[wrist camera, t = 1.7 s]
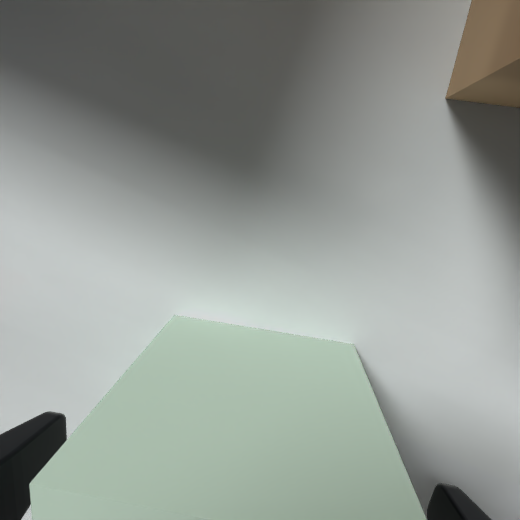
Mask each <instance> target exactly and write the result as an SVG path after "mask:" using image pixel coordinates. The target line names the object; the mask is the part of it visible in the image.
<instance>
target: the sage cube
mask: <svg viewBox="0 0 520 520" xmlns="http://www.w3.org/2000/svg"><path fill="white" fill-rule="evenodd" d="M29 487H30V499H31V512H32V520H427V519H426V517H425V514H424V512H423V510H422V507H421V505H420V502H419V500H418V498H417V495H416V493H415V490H414V488H413V486H412V483H411V481H410V478H409V476H408V474H407V471H406V469H405V466H404V464H403V462H402V459H401V457H400V454H399V452H398V450H397V447H396V445H395V442H394V440H393V438H392V435H391V433H390V430H389V428H388V426H387V423H386V421H385V418H384V416H383V414H382V411H381V409H380V406H379V404H378V402H377V399H376V397H375V394H374V392H373V390H372V387H371V385H370V382H369V380H368V378H367V375H366V373H365V370H364V368H363V366H362V363H361V361H360V358H359V356H358V354H357V351H356V349H355V346H354V344H349V343H343V342H337V341H331V340H325V339H319V338H312V337H306V336H300V335H294V334H288V333H282V332H276V331H270V330H263V329H257V328H251V327H245V326H239V325H233V324H227V323H221V322H215V321H208V320H202V319H196V318H190V317H184V316H178V315H174V316H173V317H172V318H171V320H170V321H169V322H168V323H167V324H166V325H165V327H164V328H163V329H162V330H161V331H160V332H159V334H158V335H157V336H156V337H155V338H154V339H153V341H152V342H151V343H150V344H149V345H148V346H147V348H146V349H145V350H144V351H143V352H142V353H141V354H140V356H139V357H138V358H137V359H136V360H135V361H134V363H133V364H132V365H131V366H130V367H129V368H128V370H127V371H126V372H125V373H124V374H123V375H122V377H121V378H120V379H119V380H118V381H117V382H116V384H115V385H114V386H113V387H112V388H111V389H110V391H109V392H108V393H107V394H106V395H105V396H104V397H103V399H102V400H101V401H100V402H99V403H98V404H97V406H96V407H95V408H94V409H93V410H92V411H91V413H90V414H89V415H88V416H87V417H86V418H85V420H84V421H83V422H82V423H81V424H80V425H79V427H78V428H77V429H76V430H75V431H74V432H73V434H72V435H71V436H70V437H69V438H68V439H67V441H66V442H65V443H64V444H63V445H62V446H61V447H60V449H59V450H58V451H57V452H56V453H55V454H54V456H53V457H52V458H51V459H50V460H49V461H48V463H47V464H46V465H45V466H44V467H43V468H42V470H41V471H40V472H39V473H38V474H37V475H36V477H35V478H34V479H33V480H32V481H31V482H30V484H29Z"/></svg>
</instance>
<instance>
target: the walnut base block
mask: <svg viewBox="0 0 520 520" xmlns="http://www.w3.org/2000/svg"><path fill="white" fill-rule="evenodd" d="M445 99H453V100H461V101H469V102H477V103H485V104H493V105H501V106H509V107H517V108H520V0H472V2H471V5H470V9H469V13H468V16H467V20H466V24H465V28H464V31H463V35H462V39H461V43H460V46H459V50H458V54H457V57H456V61H455V65H454V69H453V72H452V76H451V80H450V84H449V87H448V91H447V95H446V98H445Z"/></svg>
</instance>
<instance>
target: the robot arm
mask: <svg viewBox="0 0 520 520" xmlns="http://www.w3.org/2000/svg"><path fill="white" fill-rule="evenodd" d="M66 441H67V435H66V417H65V415H64V414H61V413H56V412H45V413H43V414H41V415H39V416H37V417H35V418H33V419H31V420H29V421H27V422H25V423H23V424H21V425H19V426H17V427H15V428H13V429H11V430H8V431H6V432H4V433H2V434H0V520H21V519H22V517H23V516H24V514H25V513H26V511H27V509H28V508H29V506H30V504H31V499H30V487H29V484H30V482H31V481H32V480H33V479H34V478H35V477H36V475H37V474H38V473H39V472H40V471H41V470H42V468H43V467H44V466H45V465H46V464H47V463H48V461H49V460H50V459H51V458H52V457H53V456H54V454H55V453H56V452H57V451H58V450H59V449H60V447H61V446H62V445H63V444H64V443H65V442H66ZM427 519H428V520H491V519H490V518H489V517H488V516H487V515H486V514H485V513H484V512H483V511H482V510H481V509H480V508H479V507H478V506H477V505H476V504H475V503H474V502H473V501H472V500H471V499H470V498H469V497H468V496H467V495H466V494H465V493H464V492H463V491H462V490H460V489H459V488H458V487H456V486H453V485H447V484H442V483H439V484H437V485H436V487H435V489H434V492H433V495H432V497H431V500H430V503H429V505H428V509H427Z"/></svg>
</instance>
